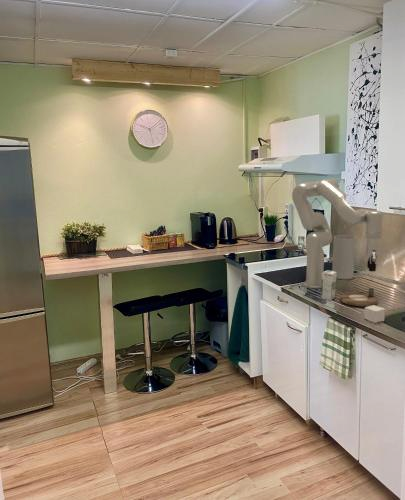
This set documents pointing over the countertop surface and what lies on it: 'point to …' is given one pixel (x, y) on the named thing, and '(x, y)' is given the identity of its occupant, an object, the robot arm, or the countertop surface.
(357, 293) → the turntable
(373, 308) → the white cube
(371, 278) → the countertop surface
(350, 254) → the cylinder vase
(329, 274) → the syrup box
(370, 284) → the countertop surface
